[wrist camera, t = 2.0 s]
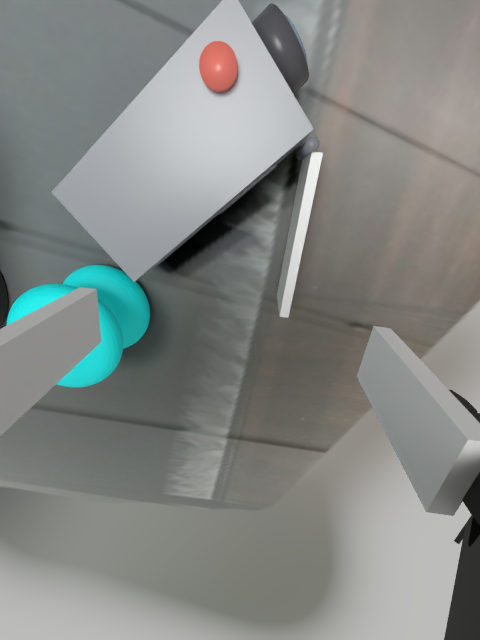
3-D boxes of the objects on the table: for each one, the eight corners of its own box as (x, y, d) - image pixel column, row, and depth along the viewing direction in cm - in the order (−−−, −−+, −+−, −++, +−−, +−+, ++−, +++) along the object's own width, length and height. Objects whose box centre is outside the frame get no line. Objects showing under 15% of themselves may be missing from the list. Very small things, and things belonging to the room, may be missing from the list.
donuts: (103, 407, 27) (-4, 372, 27) (143, 353, 36) (64, 326, 36) (124, 316, 23) (-2, 271, 23) (162, 281, 32) (74, 248, 32)
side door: (286, 296, 32) (292, 320, 26) (271, 294, 32) (273, 317, 26) (315, 150, 26) (331, 139, 20) (297, 148, 26) (307, 135, 20)
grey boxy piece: (161, 265, 32) (131, 286, 25) (97, 192, 29) (44, 192, 22) (325, 126, 26) (350, 101, 19) (263, 19, 23) (264, -58, 16)
